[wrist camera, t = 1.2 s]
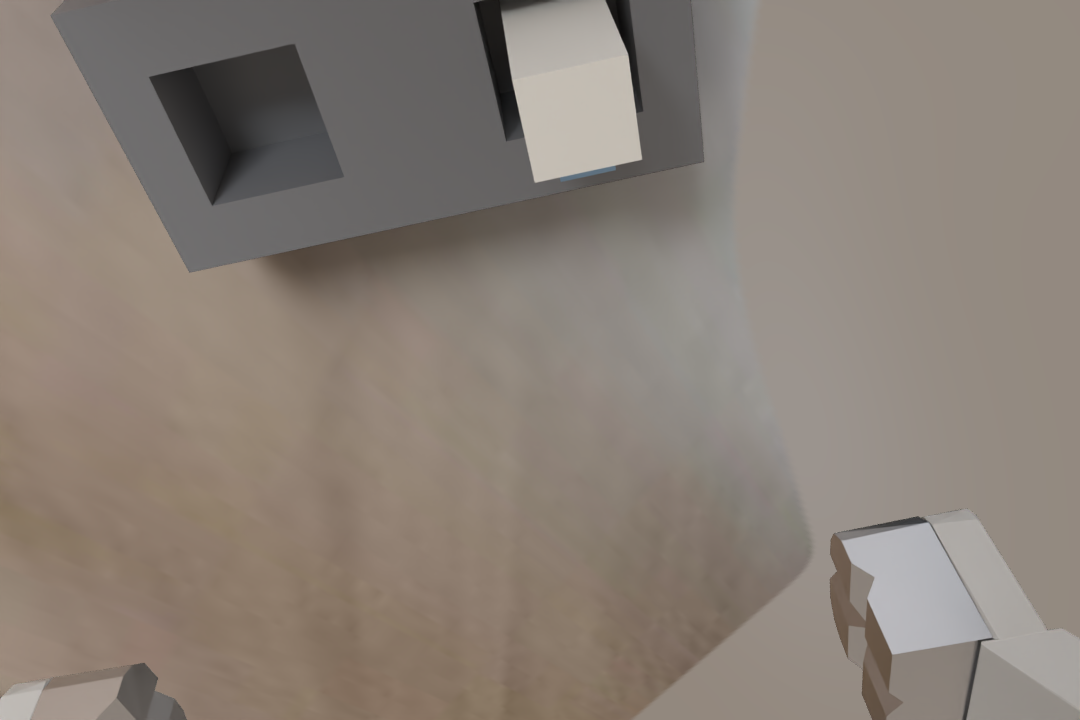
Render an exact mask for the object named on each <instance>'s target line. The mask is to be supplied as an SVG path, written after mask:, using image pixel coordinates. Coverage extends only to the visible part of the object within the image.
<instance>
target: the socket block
mask: <svg viewBox="0 0 1080 720" xmlns="http://www.w3.org/2000/svg"><path fill="white" fill-rule="evenodd" d="M605 1H606V3H607V6H608V8H609V10H610V13H611V15H612V18H613V20H614V22H615V25H616V27H617V29H618V32H619V34H620V36H621V39H622V41H623V43H624V46H625V48H626V50H627V53H628V57H629V64H630V72H631V79H632V87H633V94H634V102H635V110H636V117H637V125H638V132H639V140H640V147H641V155H642V160H638V161H634V162H629V163H624V164H620V165H615V167H616V170H614V171H609V172H605V173H600V174H596V175H591V176H586V177H582V178H577V179H572V180H568V181H563V182H561V181H560V178H555V179H550V180H546V181H541V182H537V183H535V181H534V177H533V172H532V168H531V163H530V159H529V154H528V150H527V145H526V141H525V136H524V132H523V127H522V123H521V118H520V114H519V109H518V105H517V100H516V96H515V91H514V87H513V82H512V76H511V70H510V64H509V58H508V51H507V45H506V39H505V33H504V26H503V20H502V14H501V8H500V1H499V0H65V1H64V2H63V3H62V4H61V5H60V6H59V7H58V8H57V9H56V10H55V11H54V12H53V13H52V15H51V17H52V19H53V21H54V23H55V25H56V27H57V28H58V30H59V32H60V34H61V36H62V38H63V40H64V41H65V43H66V45H67V47H68V49H69V51H70V53H71V54H72V56H73V58H74V60H75V62H76V64H77V65H78V67H79V69H80V71H81V73H82V75H83V77H84V78H85V80H86V82H87V84H88V86H89V88H90V90H91V91H92V93H93V95H94V97H95V99H96V101H97V102H98V104H99V106H100V108H101V110H102V112H103V114H104V115H105V117H106V119H107V121H108V123H109V125H110V127H111V128H112V130H113V132H114V134H115V136H116V138H117V140H118V141H119V143H120V145H121V147H122V149H123V151H124V152H125V154H126V156H127V158H128V160H129V162H130V164H131V165H132V167H133V169H134V171H135V173H136V175H137V177H138V178H139V180H140V182H141V184H142V186H143V188H144V189H145V191H146V193H147V195H148V197H149V199H150V201H151V202H152V204H153V206H154V208H155V210H156V212H157V214H158V215H159V217H160V219H161V221H162V223H163V225H164V226H165V228H166V230H167V232H168V234H169V236H170V238H171V239H172V241H173V243H174V245H175V247H176V249H177V251H178V252H179V254H180V256H181V258H182V260H183V262H184V264H185V265H186V267H187V269H188V271H189V273H190V272H195V271H199V270H204V269H208V268H213V267H218V266H222V265H227V264H232V263H236V262H241V261H246V260H250V259H255V258H260V257H264V256H269V255H273V254H278V253H283V252H287V251H292V250H297V249H301V248H306V247H311V246H315V245H320V244H325V243H329V242H334V241H338V240H343V239H348V238H352V237H357V236H362V235H366V234H371V233H376V232H380V231H385V230H390V229H394V228H399V227H404V226H408V225H413V224H417V223H422V222H427V221H431V220H436V219H441V218H445V217H450V216H455V215H459V214H464V213H469V212H473V211H478V210H482V209H487V208H492V207H496V206H501V205H506V204H510V203H515V202H520V201H524V200H529V199H534V198H538V197H543V196H547V195H552V194H557V193H561V192H566V191H571V190H575V189H580V188H585V187H589V186H594V185H599V184H603V183H608V182H612V181H617V180H622V179H626V178H631V177H636V176H640V175H645V174H650V173H654V172H659V171H664V170H668V169H673V168H677V167H682V166H687V165H691V164H696V163H701V162H704V152H703V140H702V128H701V116H700V104H699V92H698V80H697V68H696V56H695V44H694V32H693V20H692V8H691V0H605Z"/></svg>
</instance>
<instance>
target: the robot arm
mask: <svg viewBox="0 0 1080 720" xmlns="http://www.w3.org/2000/svg"><path fill="white" fill-rule="evenodd" d="M830 554H831V557H832V560H833V562H834V564H835V567H836V569H837V572H836V573H835V574H834V575H833V576H832V577H831V579H830V598H831V604H832V609H833V615H834V620H835V623H836V627H837V630H838V633H839V636H840V639H841V642H842V644H843V647H844V650H845V652H846V655H847V657H848V659H849V660H850V661H852V662H853V663H855V664H856V665H857V666H859V667H860V668H861V669H863V681H862V695H863V698H864V700H865V703H866V705H867V708H868V710H869V713H870V715H871V718H872V720H1080V638H1078V637H1076V636H1075V635H1073V634H1072V633H1070V632H1068V631H1066V630H1065V629H1063V628H1058V629H1050V630H1048V629H1047V627H1046V626H1045V624H1044V622H1043V621H1042V619H1041V618H1040V616H1039V614H1038V613H1037V611H1036V610H1035V608H1034V606H1033V605H1032V603H1031V602H1030V600H1029V598H1028V597H1027V595H1026V594H1025V592H1024V590H1023V589H1022V587H1021V586H1020V584H1019V582H1018V581H1017V579H1016V578H1015V576H1014V575H1013V573H1012V571H1011V569H1010V568H1009V566H1008V565H1007V563H1006V561H1005V560H1004V558H1003V557H1002V555H1001V553H1000V552H999V550H998V549H997V547H996V545H995V544H994V542H993V541H992V539H991V537H990V536H989V534H988V533H987V531H986V530H985V528H984V527H983V525H982V523H981V521H980V520H979V518H978V517H977V515H976V514H974V513H973V512H972V511H970V510H969V509H960V510H955V511H950V512H946V513H940V514H935V515H930V516H925V517H921V518H920V517H913V518H908V519H903V520H898V521H893V522H888V523H883V524H878V525H873V526H868V527H863V528H858V529H853V530H849V531H843V532H838V533H834V534H833V536H832V538H831V548H830ZM157 680H158V677H157V676H156V675H155V674H154V673H153V672H152V671H151V670H150V669H149V667H148V666H147V665H146V664H145V663H140V664H134V665H127V666H121V667H115V668H109V669H103V670H96V671H90V672H84V673H78V674H72V675H66V676H59V677H52V678H47V679H41V680H36V681H30V682H25V683H19V684H14V685H13V686H12V687H11V688H10V689H9V690H8V691H7V692H6V693H5V694H4V695H3V696H2V697H1V699H0V720H187V719H186V716H185V713H184V710H183V709H182V708H181V706H180V705H179V704H178V702H177V701H176V700H175V699H174V698H172V697H169V696H167V695H164V694H162V693H159V692H157V691H155V687H156V684H157Z"/></svg>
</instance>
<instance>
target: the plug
mask: <svg viewBox="0 0 1080 720" xmlns="http://www.w3.org/2000/svg"><path fill="white" fill-rule="evenodd" d="M499 1H500V8H501V14H502V20H503V26H504V33H505V39H506V45H507V51H508V58H509V64H510V70H511V76H512V82H513V87H514V91H515V96H516V100H517V105H518V109H519V114H520V118H521V123H522V127H523V132H524V136H525V141H526V145H527V150H528V154H529V159H530V163H531V168H532V172H533V177H534V181H535V183H537V182H541V181H546V180H550V179H555V178H560V181H561V182H563V181H568V180H572V179H577V178H582V177H586V176H591V175H596V174H600V173H605V172H609V171H614V170H616V167H615V165H620V164H624V163H629V162H634V161H638V160H642V155H641V147H640V140H639V132H638V125H637V117H636V110H635V102H634V94H633V87H632V79H631V72H630V64H629V57H628V53H627V50H626V48H625V46H624V43H623V41H622V39H621V36H620V34H619V32H618V29H617V27H616V25H615V22H614V20H613V18H612V15H611V13H610V10H609V8H608V6H607V3H606V1H605V0H499Z"/></svg>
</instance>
